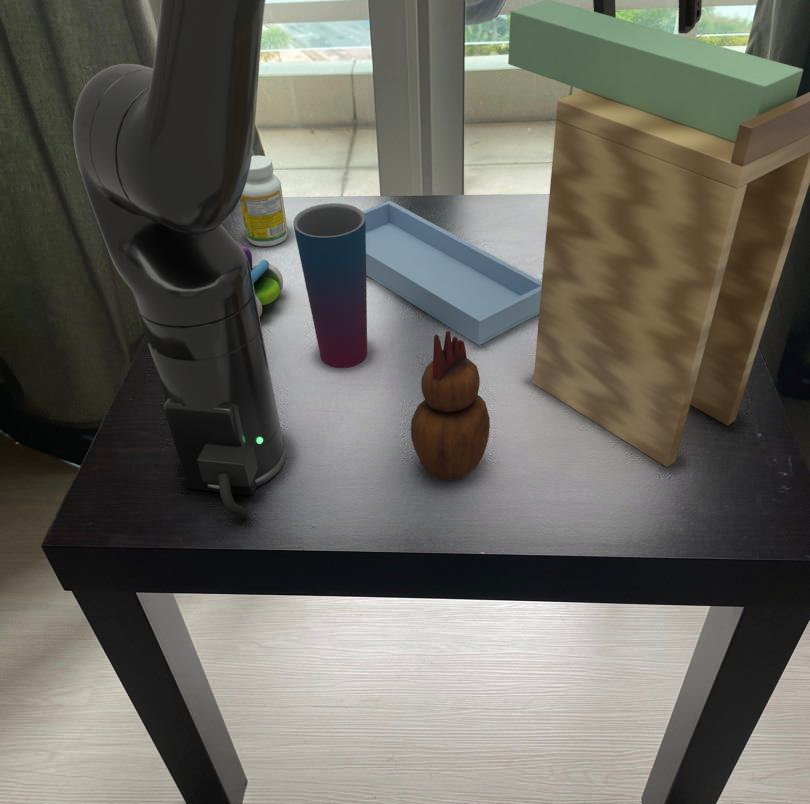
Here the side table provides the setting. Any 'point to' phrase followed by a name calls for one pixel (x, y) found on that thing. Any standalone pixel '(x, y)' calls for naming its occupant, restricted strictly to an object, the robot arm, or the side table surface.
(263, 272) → the multicolored plastic toy
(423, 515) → the side table surface
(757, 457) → the side table surface
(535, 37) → the long sage green bar
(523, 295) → the tray
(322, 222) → the cup
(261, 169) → the supplement bottle
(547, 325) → the stand
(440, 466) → the wooden figurine
